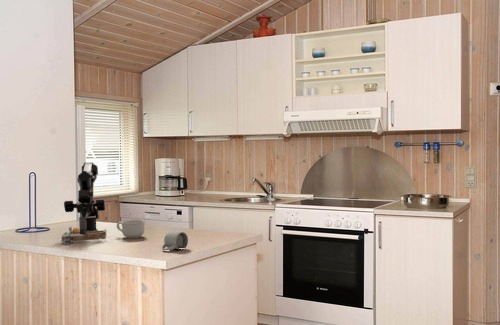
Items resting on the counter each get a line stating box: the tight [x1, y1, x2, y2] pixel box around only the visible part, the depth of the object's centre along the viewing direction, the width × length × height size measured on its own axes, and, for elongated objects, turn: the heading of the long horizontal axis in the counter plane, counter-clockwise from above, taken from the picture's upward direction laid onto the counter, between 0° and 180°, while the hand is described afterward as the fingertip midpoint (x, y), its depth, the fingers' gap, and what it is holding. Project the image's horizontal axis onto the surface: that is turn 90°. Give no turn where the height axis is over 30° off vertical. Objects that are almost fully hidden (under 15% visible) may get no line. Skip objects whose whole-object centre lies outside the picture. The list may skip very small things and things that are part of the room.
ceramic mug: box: [161, 231, 189, 251], centre depth 226 cm, size 11×8×8 cm
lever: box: [62, 216, 86, 237], centre depth 251 cm, size 10×15×9 cm
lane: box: [61, 228, 107, 242], centre depth 258 cm, size 20×9×3 cm, turn 102°
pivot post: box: [61, 237, 74, 245], centre depth 245 cm, size 5×5×3 cm
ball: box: [72, 227, 80, 234], centre depth 257 cm, size 3×3×3 cm
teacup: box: [116, 219, 145, 240], centre depth 257 cm, size 14×11×8 cm
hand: (83, 219), depth 252 cm, fingers closed
